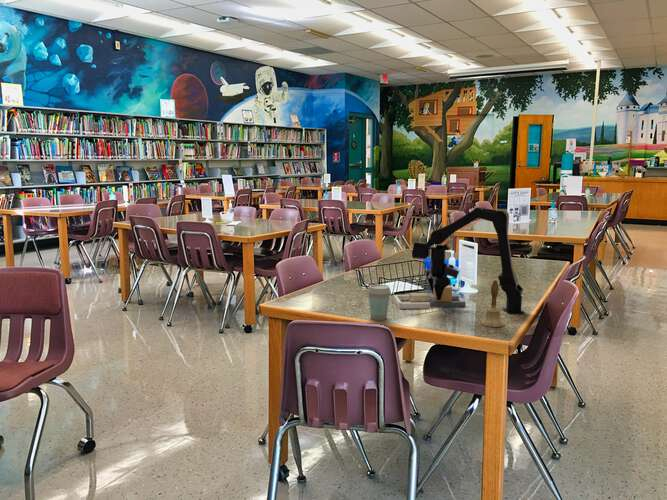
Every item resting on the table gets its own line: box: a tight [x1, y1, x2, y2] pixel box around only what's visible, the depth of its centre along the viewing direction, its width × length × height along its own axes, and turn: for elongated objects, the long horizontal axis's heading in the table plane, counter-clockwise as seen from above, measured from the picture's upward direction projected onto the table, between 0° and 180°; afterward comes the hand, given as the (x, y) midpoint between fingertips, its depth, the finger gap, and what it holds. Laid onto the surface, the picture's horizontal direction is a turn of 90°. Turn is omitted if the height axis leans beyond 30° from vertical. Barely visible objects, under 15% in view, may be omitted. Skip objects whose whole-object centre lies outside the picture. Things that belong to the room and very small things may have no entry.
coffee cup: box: [367, 283, 391, 321], centre depth 216 cm, size 9×8×12 cm
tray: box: [392, 294, 431, 309], centre depth 238 cm, size 14×12×2 cm
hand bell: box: [480, 279, 505, 328], centre depth 209 cm, size 8×8×16 cm
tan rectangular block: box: [429, 285, 453, 302], centre depth 239 cm, size 6×9×7 cm
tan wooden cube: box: [408, 292, 421, 303], centre depth 238 cm, size 4×4×4 cm
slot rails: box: [429, 295, 467, 308], centre depth 239 cm, size 11×15×2 cm
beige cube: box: [418, 292, 431, 303], centre depth 238 cm, size 4×4×4 cm
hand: (436, 297), depth 239 cm, fingers open, 7 cm apart
